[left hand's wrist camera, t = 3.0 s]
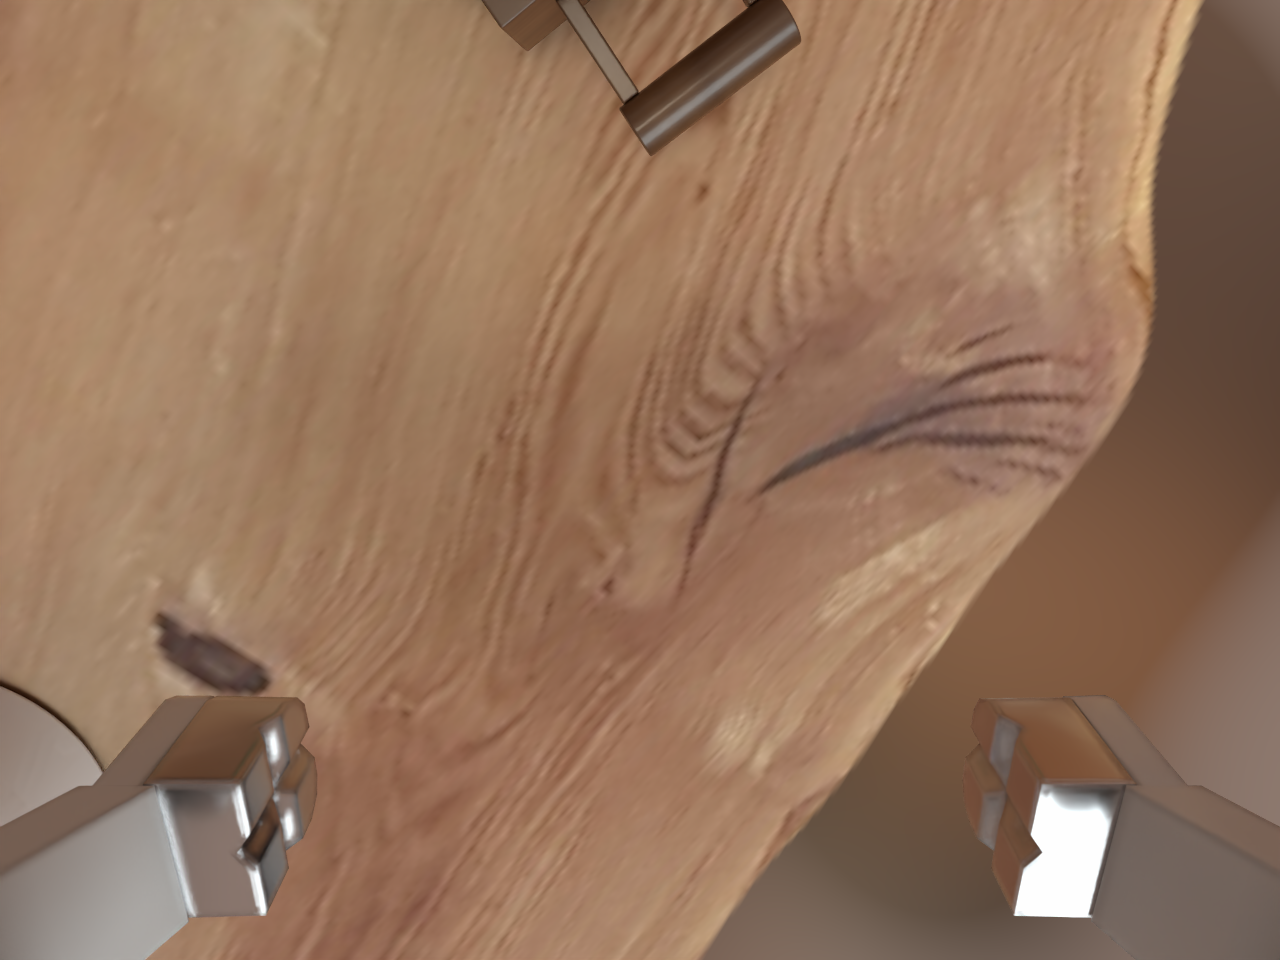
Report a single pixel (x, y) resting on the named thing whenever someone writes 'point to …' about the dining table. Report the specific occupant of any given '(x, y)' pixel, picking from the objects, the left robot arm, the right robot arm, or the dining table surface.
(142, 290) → the dining table surface
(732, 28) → the drawer
